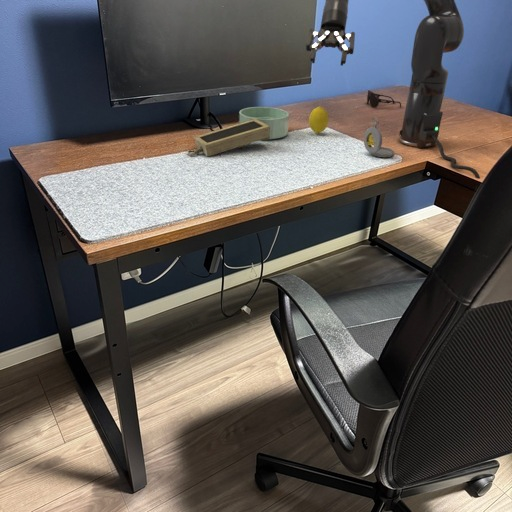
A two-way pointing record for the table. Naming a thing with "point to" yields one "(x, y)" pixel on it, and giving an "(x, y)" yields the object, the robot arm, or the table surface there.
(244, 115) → the bowl
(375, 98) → the sunglasses
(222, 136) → the box
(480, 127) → the table surface
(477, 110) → the table surface
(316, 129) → the lemon
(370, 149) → the pocket watch
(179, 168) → the table surface
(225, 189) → the table surface
